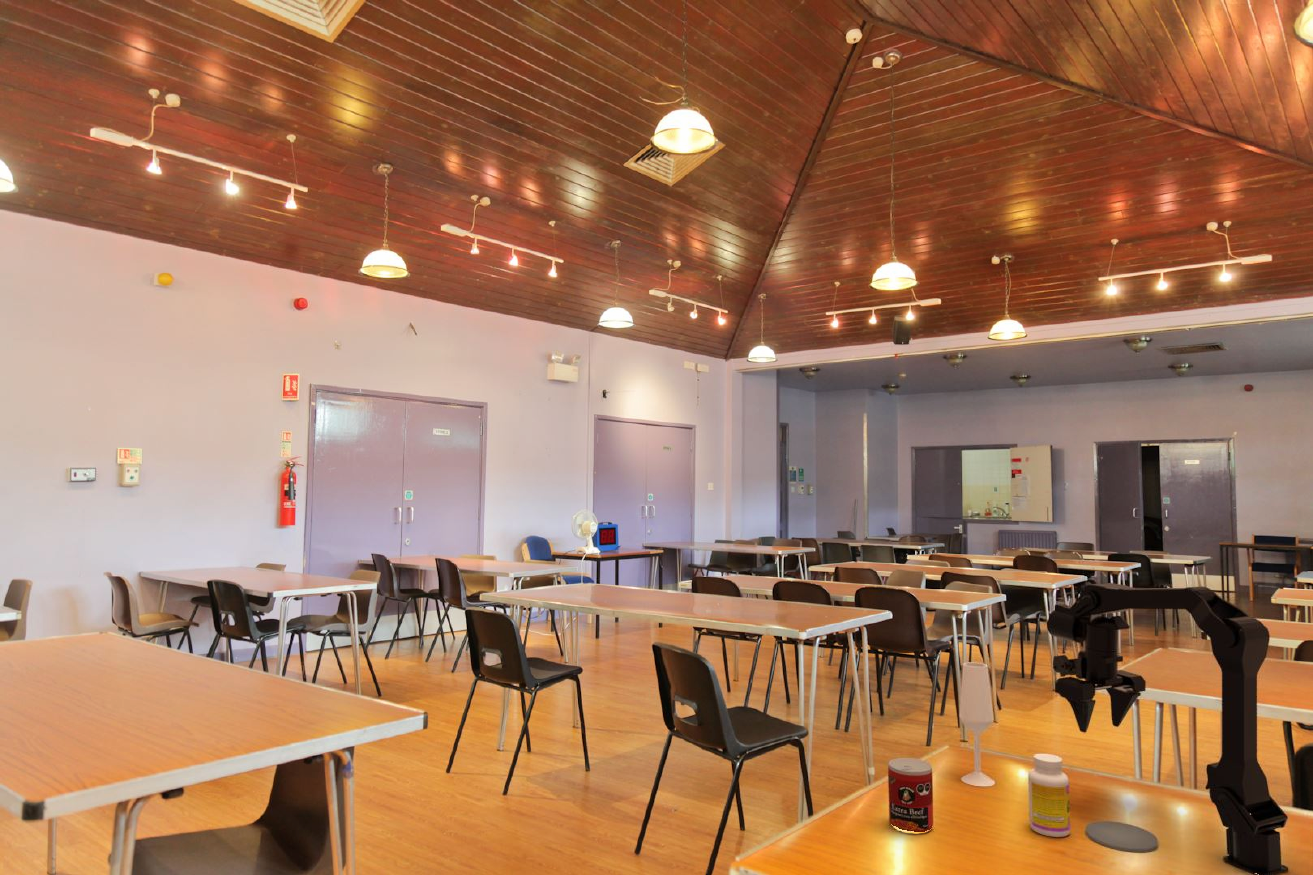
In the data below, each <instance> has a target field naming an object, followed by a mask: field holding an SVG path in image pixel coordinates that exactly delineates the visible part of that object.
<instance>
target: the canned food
mask: <svg viewBox="0 0 1313 875" xmlns="http://www.w3.org/2000/svg"><path fill="white" fill-rule="evenodd" d="M887 769H888V771H887V774H888V777H887V778H888V779H887V780H888V781H887V782H888V786H887V787H888V820H889V824H890V823H891V824H892V825H893V826H896V827H898V828H899V829H902V830H907V831H914V832H925V831H927V830H930V829H931V828H932V829H933V827H932V826H933V825H934V796H933V794H934V792H933V791H934V790H933V766H932V764H931V763H929V762H927V761H925V760H922V759H919V758H913V757H898V758H893V759H891V760H889V761H888V768H887ZM891 824H890V825H891ZM932 829H931V830H932Z"/></svg>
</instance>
